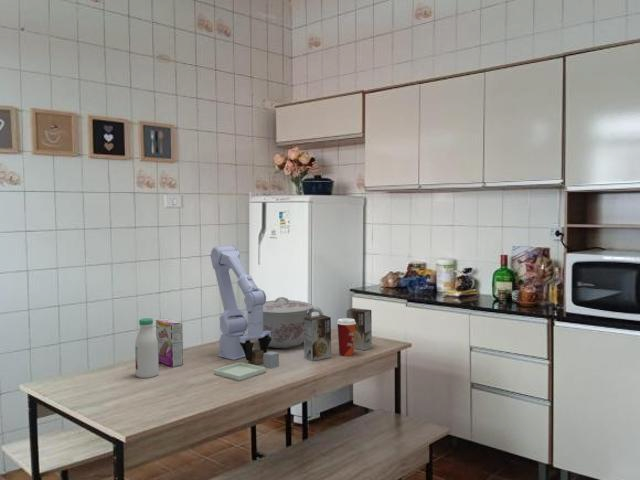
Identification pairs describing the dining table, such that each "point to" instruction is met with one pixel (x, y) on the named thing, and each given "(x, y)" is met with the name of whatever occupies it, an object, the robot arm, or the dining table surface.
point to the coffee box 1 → (317, 337)
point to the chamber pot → (286, 321)
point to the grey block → (271, 359)
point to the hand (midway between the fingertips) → (256, 358)
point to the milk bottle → (146, 350)
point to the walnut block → (257, 357)
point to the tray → (239, 371)
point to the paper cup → (346, 336)
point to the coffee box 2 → (361, 328)
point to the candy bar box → (169, 342)
